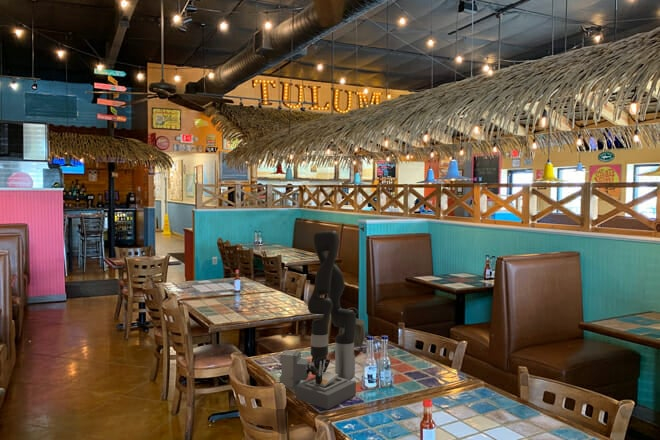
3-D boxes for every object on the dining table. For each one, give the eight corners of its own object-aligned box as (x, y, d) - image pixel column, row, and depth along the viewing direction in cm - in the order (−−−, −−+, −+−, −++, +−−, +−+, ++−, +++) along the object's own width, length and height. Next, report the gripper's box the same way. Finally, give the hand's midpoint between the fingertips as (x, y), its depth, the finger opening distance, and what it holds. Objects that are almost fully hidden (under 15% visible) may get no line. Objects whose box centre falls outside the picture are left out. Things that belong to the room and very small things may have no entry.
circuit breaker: (309, 388, 232) (309, 356, 231) (279, 386, 234) (279, 354, 234) (313, 383, 239) (313, 351, 238) (284, 380, 242) (284, 349, 241)
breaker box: (324, 385, 235) (324, 371, 235) (355, 395, 224) (355, 379, 224) (295, 398, 220) (295, 383, 219) (328, 409, 209) (328, 393, 208)
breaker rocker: (327, 373, 228) (327, 371, 227) (338, 376, 224) (338, 373, 224) (313, 383, 220) (313, 380, 220) (324, 386, 216) (324, 384, 216)
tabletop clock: (365, 349, 294) (365, 306, 293) (363, 354, 285) (363, 310, 284) (340, 347, 297) (340, 305, 296) (338, 352, 288) (338, 308, 287)
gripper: (322, 339, 225) (321, 378, 225) (302, 345, 215) (302, 385, 215) (335, 342, 220) (334, 381, 221) (316, 348, 210) (315, 390, 210)
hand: (318, 383), depth 218 cm, fingers closed
